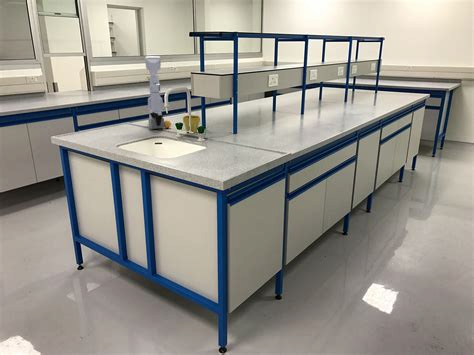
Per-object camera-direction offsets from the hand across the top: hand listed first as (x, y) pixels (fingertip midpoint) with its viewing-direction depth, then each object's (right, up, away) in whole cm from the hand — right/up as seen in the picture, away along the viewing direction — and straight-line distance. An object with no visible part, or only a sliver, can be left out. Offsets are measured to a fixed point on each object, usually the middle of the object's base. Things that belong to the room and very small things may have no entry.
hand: (157, 124), depth 241 cm
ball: (+6, +1, +3) cm, 7 cm away
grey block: (0, -2, 0) cm, 2 cm away
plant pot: (+24, -6, -8) cm, 26 cm away
